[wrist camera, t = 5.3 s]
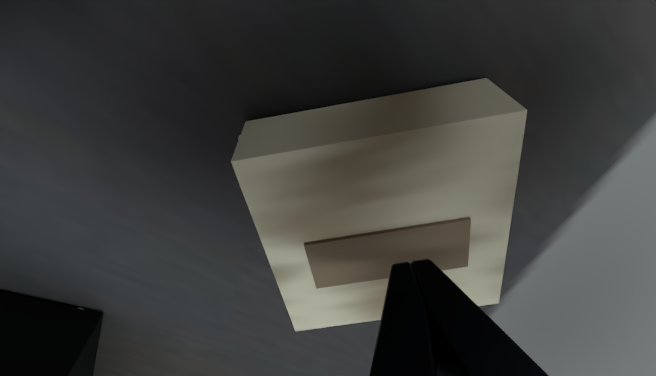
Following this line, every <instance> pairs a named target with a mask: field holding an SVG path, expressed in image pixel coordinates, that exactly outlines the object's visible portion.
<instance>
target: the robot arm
mask: <svg viewBox="0 0 656 376" xmlns="http://www.w3.org/2000/svg"><path fill="white" fill-rule="evenodd" d="M370 376H548V375H547V374H546V373H545V372H544V371H543V370H542V369H541V368H540V367H539V366H538V365H537V364H536V363H535V362H534V361H533V360H532V359H531V358H530V357H529V356H528V355H527V354H526V353H525V352H524V351H523V350H522V349H521V348H520V347H519V346H518V345H517V344H516V343H515V342H514V341H513V340H512V339H511V338H510V337H509V336H508V335H507V334H506V333H505V332H504V331H503V330H502V329H501V328H500V327H499V326H498V325H497V324H496V323H495V322H494V321H493V320H492V319H491V318H490V317H489V316H488V315H487V314H486V313H484V312H483V311H482V310H481V309H480V308H479V307H478V306H477V305H476V304H475V303H474V302H473V301H472V300H471V299H470V298H469V297H468V296H467V295H466V294H465V293H464V292H463V291H462V290H461V289H460V288H459V287H458V286H457V285H456V284H455V283H454V282H453V281H452V280H451V279H450V278H449V277H448V276H447V275H446V274H445V273H444V272H443V271H442V270H441V269H440V268H439V267H438V266H437V265H436V264H435V263H434V262H433V261H432V260H430V259H428V258H426V259H419V260H413V261H412V262H411V263H410V262H408V261H406V262H399V263H394V264H392V266H391V271H390V276H389V281H388V286H387V291H386V296H385V301H384V306H383V311H382V316H381V321H380V326H379V331H378V336H377V341H376V346H375V351H374V356H373V361H372V366H371V371H370Z"/></svg>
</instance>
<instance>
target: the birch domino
mask: <svg viewBox="0 0 656 376" xmlns="http://www.w3.org/2000/svg"><path fill="white" fill-rule="evenodd" d="M526 117H527V109H525V108H524V107H523V106H522V105H520V104H519V103H518V102H517V101H515V100H514V99H513V98H512V97H510V96H509V95H508V94H507V93H505V92H504V91H503V90H501V89H500V88H499V87H498V86H496V85H495V84H494V83H493V82H491V81H490V80H489V79H488V78H483V79H478V80H472V81H467V82H461V83H456V84H450V85H445V86H439V87H434V88H428V89H422V90H417V91H411V92H406V93H400V94H395V95H389V96H384V97H378V98H373V99H367V100H362V101H356V102H350V103H345V104H339V105H334V106H328V107H323V108H317V109H312V110H306V111H301V112H295V113H290V114H284V115H279V116H273V117H267V118H262V119H256V120H251V121H245V124H244V127H243V130H242V132H241V135H240V138H239V141H238V143H237V146H236V149H235V151H234V154H233V157H232V160H231V163H232V166H233V169H234V171H235V174H236V176H237V179H238V182H239V184H240V187H241V190H242V192H243V195H244V197H245V200H246V203H247V205H248V208H249V211H250V213H251V216H252V218H253V221H254V224H255V226H256V229H257V232H258V234H259V237H260V239H261V242H262V245H263V247H264V250H265V253H266V255H267V258H268V260H269V263H270V266H271V268H272V271H273V274H274V276H275V279H276V281H277V284H278V287H279V289H280V292H281V295H282V297H283V300H284V302H285V305H286V308H287V310H288V313H289V316H290V318H291V321H292V323H293V326H294V329H295V331H302V330H309V329H316V328H324V327H331V326H338V325H345V324H353V323H360V322H367V321H374V320H381V316H382V311H383V306H384V301H385V296H386V291H387V286H388V281H389V276H390V271H391V266H392V264H394V263H399V262H406V261H408V262H410V263H411V262H412V261H413V260H419V259H426V258H428V259H430V260H432V261H433V262H434V263H435V264H436V265H437V266H438V267H439V268H440V269H441V270H442V271H443V272H444V273H445V274H446V275H447V276H448V277H449V278H450V279H451V280H452V281H453V282H454V283H455V284H456V285H457V286H458V287H459V288H460V289H461V290H462V291H463V292H464V293H465V294H466V295H467V296H468V297H469V298H470V299H471V300H472V301H473V302H474V303H475V304H476V305H477V306H483V305H490V304H497V303H499V298H500V292H501V285H502V278H503V272H504V265H505V258H506V251H507V245H508V238H509V231H510V224H511V218H512V211H513V204H514V198H515V191H516V184H517V177H518V171H519V164H520V157H521V150H522V144H523V137H524V130H525V124H526Z"/></svg>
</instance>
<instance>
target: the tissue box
mask: <svg viewBox="0 0 656 376" xmlns="http://www.w3.org/2000/svg"><path fill="white" fill-rule="evenodd" d="M101 320H102V314H98V313H94V312H89V311H88V310H84V309H83V308H75V307H70V306H65V305H61V304H56V303H51V302H47V301H42V300H37V299H33V298H28V297H24V296H19V295H14V294H10V293H5V292H0V376H92V373H93V367H94V362H95V356H96V350H97V344H98V338H99V332H100V326H101Z"/></svg>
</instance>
